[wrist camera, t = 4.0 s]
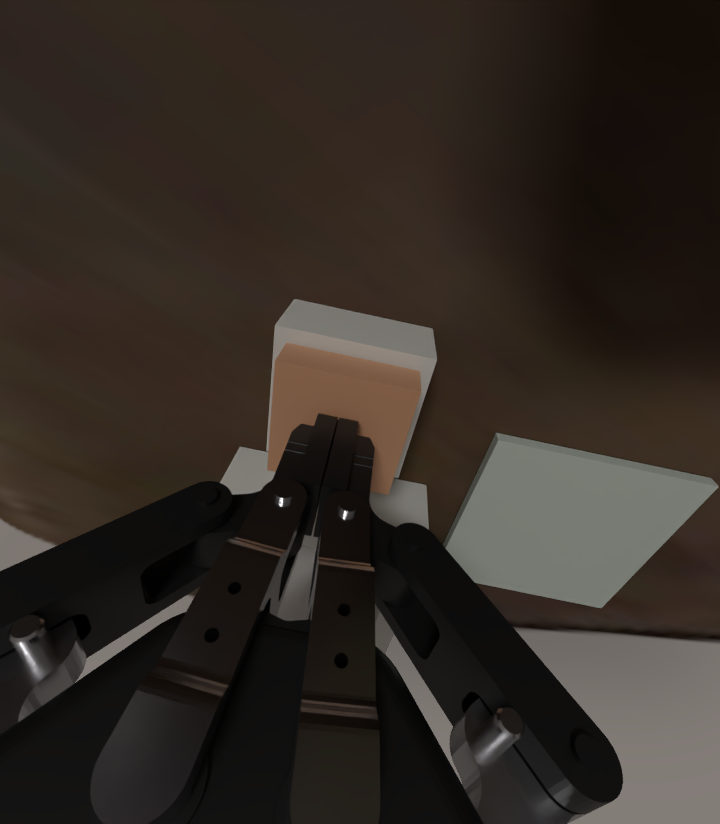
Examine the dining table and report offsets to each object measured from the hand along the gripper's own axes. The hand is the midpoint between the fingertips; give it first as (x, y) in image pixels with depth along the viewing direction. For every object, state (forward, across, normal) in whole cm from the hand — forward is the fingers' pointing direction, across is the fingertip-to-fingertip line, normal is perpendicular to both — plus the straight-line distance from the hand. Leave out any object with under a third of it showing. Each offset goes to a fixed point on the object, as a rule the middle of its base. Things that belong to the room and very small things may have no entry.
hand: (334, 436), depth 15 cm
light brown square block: (+5, 0, 0) cm, 5 cm away
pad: (+5, -13, +7) cm, 16 cm away
